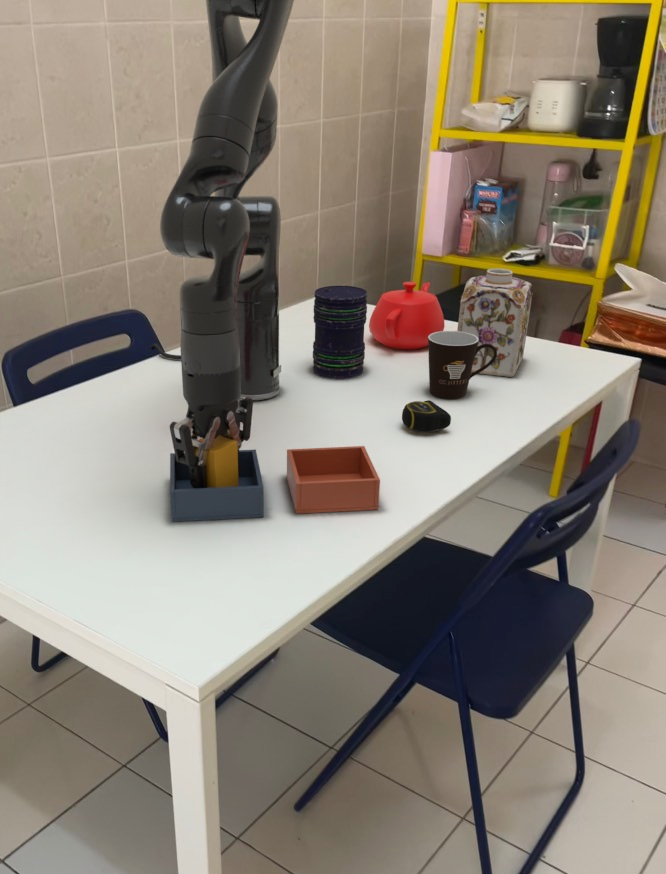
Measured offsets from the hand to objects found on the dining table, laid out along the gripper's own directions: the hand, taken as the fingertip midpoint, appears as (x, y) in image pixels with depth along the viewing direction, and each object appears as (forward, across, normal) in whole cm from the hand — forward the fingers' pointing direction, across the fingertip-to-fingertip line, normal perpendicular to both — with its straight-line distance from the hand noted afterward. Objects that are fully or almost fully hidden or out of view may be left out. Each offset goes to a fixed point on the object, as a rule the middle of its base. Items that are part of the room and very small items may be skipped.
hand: (215, 480), depth 120 cm
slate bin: (+3, 0, 0) cm, 3 cm away
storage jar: (+3, -54, -18) cm, 57 cm away
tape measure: (+3, -40, +9) cm, 42 cm away
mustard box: (+2, 0, 0) cm, 2 cm away
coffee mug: (+3, -57, +6) cm, 57 cm away
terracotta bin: (+3, -11, +11) cm, 16 cm away
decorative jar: (+3, -75, +3) cm, 75 cm away
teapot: (+3, -79, -18) cm, 81 cm away
